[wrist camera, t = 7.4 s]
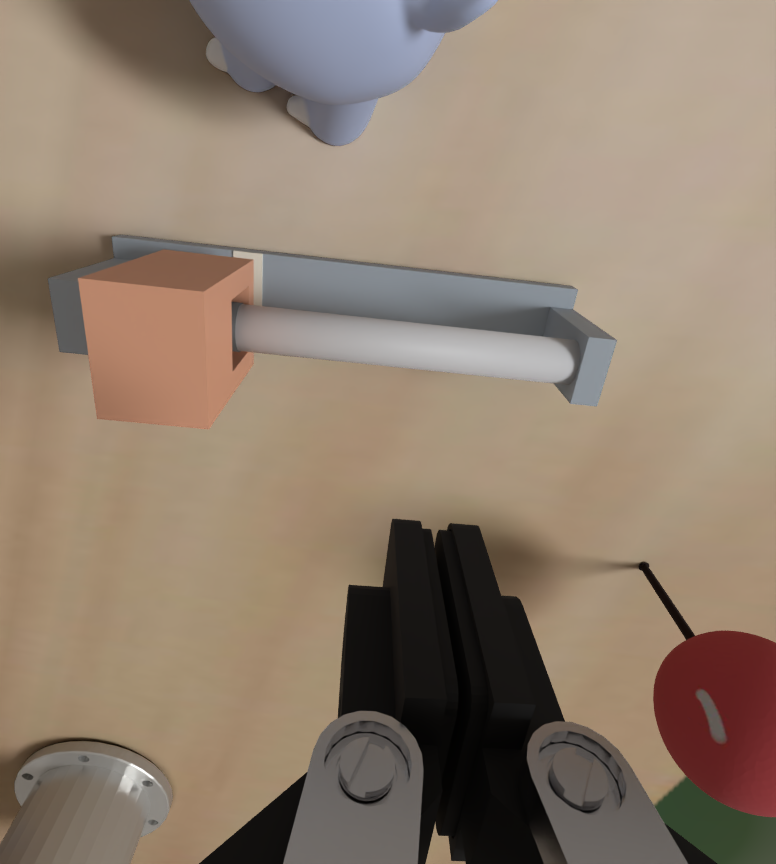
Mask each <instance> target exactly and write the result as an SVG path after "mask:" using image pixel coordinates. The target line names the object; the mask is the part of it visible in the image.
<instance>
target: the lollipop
mask: <svg viewBox="0 0 776 864" xmlns="http://www.w3.org/2000/svg"><path fill="white" fill-rule="evenodd" d="M639 569H640V570H642V571H643V573H644V574H645V576H646V577H647V579H648V581H649V582H650V584H651V585H652V587H653V588H654V590H655V592H656V593H657V595H658V596H659V598H660V599H661V601H662V603H663V604H664V606H665V607H666V609H667V610H668V612H669V613H670V615H671V617H672V618H673V620H674V621H675V623H676V624H677V626H678V627H679V629H680V631H681V632H682V634H683V635H684V637H685V638H686V641H684V642H682V643H681V644H679V645H678V646H677V647H675V648H674V649H673V650H672V651H671V652H670V653H669V654H668V655H667V657H666V658H665V659H664V661H663V662H662V664H661V666H660V668H659V670H658V673H657V676H656V679H655V684H654V696H653V701H654V711H655V717H656V721H657V725H658V728H659V731H660V734H661V737H662V739H663V742H664V744H665V746H666V748H667V750H668V751H669V753H670V755H671V756H672V758H673V759H674V761H675V762H676V764H677V765H678V766H679V768H680V769H681V770H682V771H683V772H684V774H685V775H686V776H687V777H688V778H689V779H690V780H691V781H692V782H693V783H694V784H695V785H697V786H698V787H699V788H700V789H701V790H702V791H704V792H705V793H707V794H708V795H709V796H711V797H712V798H714V799H716V800H717V801H719V802H721V803H723V804H725V805H727V806H729V807H732V808H734V809H736V810H739V811H742V812H746V813H749V814H753V815H759V816H766V817H776V643H775V642H773V641H770V640H768V639H765V638H762V637H760V636H756V635H753V634H749V633H744V632H737V631H713V632H708V633H703V634H700V635H697V636H695V635H694V633H693V632H692V630H691V629H690V627H689V626H688V624H687V623H686V622H685V620H684V619H683V617H682V616H681V614H680V613H679V611H678V610H677V608H676V607H675V605H674V604H673V602H672V601H671V599H670V598H669V596H668V595H667V593H666V592H665V590H664V589H663V588H662V586H661V585H660V583H659V582H658V580H657V579H656V577H655V576H654V574H653V573H652V571H651V570H650V569H649V564H648V563H641V564H640V565H639Z"/></svg>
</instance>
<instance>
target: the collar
mask: <svg viewBox="0 0 776 864" xmlns="http://www.w3.org/2000/svg"><path fill="white" fill-rule="evenodd" d="M78 283H79V290H80V297H81V305H82V312H83V319H84V326H85V334H86V341H87V348H88V356H89V363H90V370H91V378H92V385H93V392H94V399H95V407H96V414H97V419H106V420H116V421H127V422H137V423H148V424H158V425H169V426H179V427H190V428H200V429H209V428H210V427H211V425H212V424H213V422H214V421H215V420H216V418H217V417H218V415H219V414H220V412H221V411H222V409H223V408H224V406H225V405H226V403H227V402H228V401H229V399H230V398H231V396H232V395H233V393H234V392H235V390H236V389H237V387H238V386H239V385H240V383H241V382H242V380H243V379H244V377H245V376H246V374H247V373H248V371H249V370H250V369H251V367H252V366H253V352H245V351H241V352H234V351H232V303H231V302H240V303H243V304H247V305H254V260H253V259H245V258H236V257H227V256H218V255H209V254H200V253H192V252H183V251H174V250H165V249H164V250H161V251H158V252H155V253H152V254H149V255H146V256H143V257H140V258H137V259H134V260H131V261H128V262H125V263H122V264H119V265H116V266H113V267H110V268H107V269H104V270H101V271H98V272H95V273H92V274H89V275H86V276H83V277H80V278H78Z"/></svg>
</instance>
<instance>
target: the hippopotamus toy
mask: <svg viewBox="0 0 776 864" xmlns="http://www.w3.org/2000/svg"><path fill="white" fill-rule="evenodd" d="M189 1H190V2H191V4H192V6H193V7H194V9H195V10H196V12H197V14H198V15H199V16H200V18H201V19H202V21H203V22H204V23H205V25H206V26H207V27H208V29H209V30H210V31H211V32H212V34H213V35H214V36H215V38H213V39H211V40H210V41H209V43H208V45H207V48H206V57H207V59H208V61H209V62H210V63H211V64H212V65H213V66H214V67H216V68H218V69H219V70H222V71H224V72H227V73H228V74H229V75H230V76H231V77H232V78H233V80H234V81H235V82H236V83H237V84H238V85H239V86H241V87H242V88H244V89H246V90H248V91H252V92H263V91H266V90H269V89H271V88H273V87H274V86H275V85H277V86H279V87H281V88H283V89H285V90H287V91H289V92H291V93H293V94H295V96H292V97H290V99H289V100H288V103H287V111H288V113H289V114H290V115H292V116H293V117H295V118H296V119H297V120H299V121H300V122H302V123H303V124H305V125H307V126H308V127H309V128H310V129H311V130H312V131H313V133H314V134H315V135H316V136H317V137H318V138H319V139H321V140H322V141H324V142H326V143H328V144H330V145H334V146H341V145H346V144H348V143H351V142H352V141H354V140H355V139H356V138H358V137H359V136H360V135H361V133H362V132H363V131H364V129H365V128H366V126H367V124H368V122H369V120H370V118H371V115H372V113H373V111H374V108H375V106H376V103H377V101H378V98H381V97H384V96H387V95H389V94H392V93H394V92H396V91H398V90H400V89H402V88H403V87H405V86H406V85H408V84H409V83H410V82H412V81H413V80H414V79H415V78H416V77H417V76H418V75H419V74H420V72H421V71H422V70H423V69H424V67H425V66H426V65H427V63H428V62H429V60H430V59H431V57H432V56H433V54H434V52H435V51H436V49H437V47H438V46H439V44H440V42H441V40H442V38H443V36H444V34H445V33H447V32H452V31H455V30H458V29H460V28H462V27H464V26H466V25H467V24H469V23H470V22H472V21H473V20H475V19H476V18H478V17H479V16H481V15H482V14H484V13H485V12H486V11H488V10H489V9H490V8H491V7H492V6H493V5H494V4H495V3H496V2H497V1H498V0H189Z"/></svg>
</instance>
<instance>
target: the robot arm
mask: <svg viewBox="0 0 776 864" xmlns="http://www.w3.org/2000/svg"><path fill="white" fill-rule="evenodd" d="M14 791H15V794H16V797H17V800H18V802H19V803H20V805H21V808H20V810H19V812H18V814H17V815H16V817H15V819H14V821H13V822H12V824H11V826H10V828H9V829H8V831H7V833H6V835H5V836H4V838H3V840H2V841H1V843H0V864H130V863H131V861H132V858H133V855H134V852H135V850H136V847H137V844H138V842H139V839H140V837H142V836H145V835H147V834H149V833H151V832H153V831H154V830H155V829H157V828H158V827H160V826H161V824H162V823H163V822H164V821H165V820H166V817H167V815H168V812H169V810H170V807H171V803H172V799H173V795H172V788H171V786H170V784H169V781H168V779H167V778H166V777H165V775H164V774H163V773H162V771H161V770H160V769H158V768H157V767H156V766H155V765H154V764H153V763H151V762H150V761H148V760H147V759H145V758H144V757H142V756H140V755H138V754H136V753H134V752H132V751H130V750H127V749H124V748H121V747H118V746H115V745H110V744H106V743H101V742H91V741H69V742H63V743H57V744H54V745H51V746H48V747H45V748H42V749H41V750H39V751H37V752H35V753H33V754H32V755H31V756H30V757H29V758H28V759H27V760H26V761H25V763H24V764H23V766H22V768H21V769H20V771H19V772H18V774H17V777H16V779H15V782H14ZM435 821H436V829H437V833H438V835H439V836H449V844H450V853H451V861H466V864H717V863H716V862H714V861H713V860H712V859H710V858H709V857H708V856H706V855H705V854H704V853H703V852H701V851H700V850H699V849H697V848H696V847H695V846H693V845H692V844H691V843H690V842H688V841H687V840H685V839H684V838H683V837H682V836H680V835H679V834H678V833H676V832H675V831H674V830H673V829H671V828H670V827H669V826H667V825H666V824H665V823H664V822H663V820H662V819H661V817H660V815H659V814H658V812H657V810H656V809H655V807H654V805H653V804H652V802H651V800H650V799H649V797H648V795H647V793H646V792H645V790H644V788H643V787H642V785H641V783H640V782H639V780H638V778H637V777H636V775H635V773H634V772H633V770H632V768H631V766H630V765H629V763H628V762H627V761H626V759H625V758H624V757H623V755H622V754H621V753H620V751H619V750H618V749H617V748H616V747H615V746H614V745H612V744H611V743H610V742H609V741H608V740H607V739H606V738H605V737H603V736H602V735H600V734H598V733H597V732H595V731H593V730H591V729H590V728H588V727H585V726H582V725H579V724H576V723H573V722H565V720H564V718H563V715H562V712H561V709H560V707H559V704H558V701H557V698H556V696H555V693H554V690H553V688H552V685H551V682H550V679H549V677H548V674H547V671H546V668H545V666H544V663H543V660H542V657H541V655H540V652H539V649H538V646H537V644H536V641H535V638H534V635H533V633H532V630H531V627H530V624H529V622H528V619H527V616H526V613H525V611H524V608H523V605H522V603H521V601H520V599H518V598H517V597H514V596H501V594H500V591H499V587H498V584H497V581H496V578H495V575H494V572H493V569H492V565H491V562H490V559H489V556H488V553H487V550H486V547H485V544H484V540H483V537H482V534H481V531H480V528H479V526H477V525H464V524H452V523H450V524H449V526H448V528H447V531H446V530H439V531H438V533H437V537H436V542H435V548H434V542H433V537H432V531H431V529H422V525H421V522H420V521H414V520H401V519H392V523H391V529H390V536H389V544H388V551H387V559H386V566H385V574H384V581H383V587H371V586H357V585H349V587H348V595H347V605H346V615H345V625H344V637H343V649H342V662H341V677H340V692H339V707H338V719H336V720H334V721H333V722H331V723H330V724H329V725H328V726H327V728H326V729H325V730H324V731H323V732H322V733H321V734H320V736H319V738H318V741H317V743H316V745H315V747H314V750H313V753H312V757H311V761H310V765H309V768H308V772H307V773H305V774H304V775H303V776H302V777H301V778H300V779H298V780H297V781H296V782H295V783H294V784H292V785H291V786H290V787H289V788H288V789H287V790H285V791H284V792H283V793H282V794H281V795H280V796H278V797H277V798H276V799H275V800H274V801H272V802H271V803H270V804H269V805H268V806H267V807H265V808H264V809H263V810H262V811H261V812H259V813H258V814H257V815H256V816H255V817H254V818H252V819H251V820H250V821H249V822H248V823H247V824H245V825H244V826H243V827H242V828H241V829H239V830H238V831H237V832H236V833H235V834H234V835H232V836H231V837H230V838H229V839H228V840H226V841H225V842H224V843H223V844H222V845H221V846H219V847H218V848H217V849H216V850H215V851H213V852H212V853H211V854H210V855H209V856H208V857H206V858H205V859H204V860H203V861H202V862H201V863H199V864H425V863H426V858H427V854H428V850H429V846H430V842H431V837H432V833H433V829H434V825H435Z"/></svg>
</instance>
